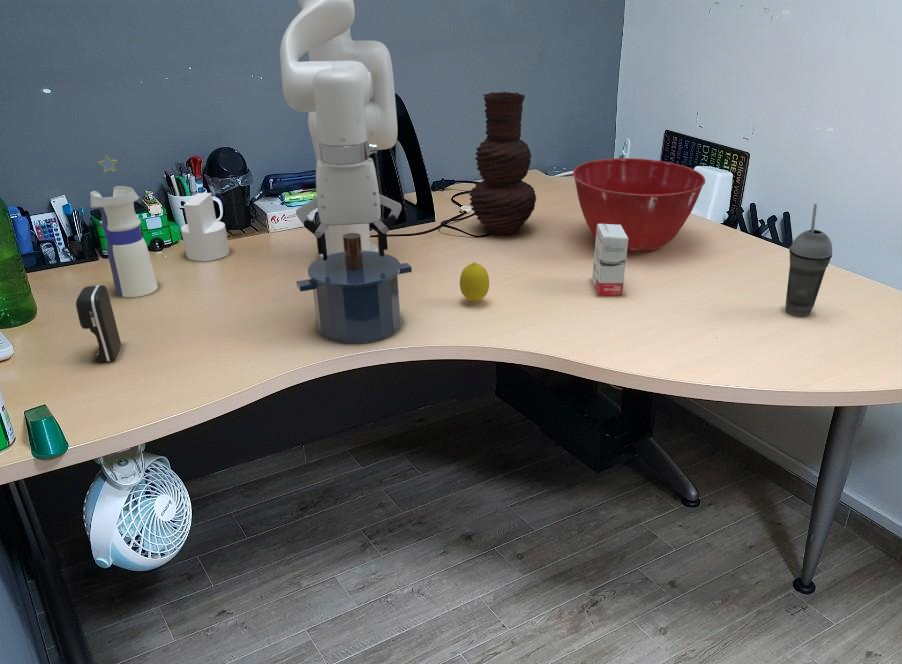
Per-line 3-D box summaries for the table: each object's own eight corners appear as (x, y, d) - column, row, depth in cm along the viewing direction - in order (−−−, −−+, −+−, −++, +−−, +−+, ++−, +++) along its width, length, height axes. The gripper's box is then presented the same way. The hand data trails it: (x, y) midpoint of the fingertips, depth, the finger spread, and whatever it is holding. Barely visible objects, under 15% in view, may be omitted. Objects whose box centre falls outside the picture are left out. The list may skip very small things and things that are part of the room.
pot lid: (297, 265, 141) (293, 228, 137) (382, 251, 147) (380, 216, 143) (323, 297, 129) (319, 258, 125) (414, 281, 135) (413, 243, 131)
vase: (456, 232, 186) (453, 96, 171) (493, 216, 197) (494, 86, 182) (511, 245, 179) (513, 104, 163) (547, 227, 190) (552, 93, 174)
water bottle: (104, 290, 156) (70, 160, 143) (146, 278, 162) (116, 151, 149) (124, 301, 151) (90, 168, 139) (166, 288, 157) (137, 159, 144)
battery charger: (98, 345, 136) (80, 282, 130) (122, 343, 136) (105, 281, 130) (89, 365, 130) (70, 299, 124) (114, 362, 130) (96, 297, 125)
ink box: (623, 296, 155) (629, 237, 149) (597, 296, 154) (602, 237, 148) (615, 279, 162) (621, 222, 156) (591, 279, 162) (595, 222, 156)
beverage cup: (798, 323, 144) (821, 214, 134) (768, 308, 150) (789, 203, 140) (827, 315, 147) (852, 208, 137) (797, 301, 153) (819, 197, 142)
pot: (293, 320, 145) (286, 265, 139) (397, 300, 152) (394, 248, 147) (316, 353, 133) (309, 295, 128) (427, 330, 141) (425, 274, 136)
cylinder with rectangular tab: (222, 261, 170) (212, 205, 164) (180, 260, 170) (168, 205, 164) (234, 246, 178) (225, 192, 171) (194, 246, 178) (184, 192, 172)
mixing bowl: (713, 236, 185) (724, 168, 177) (667, 275, 164) (676, 200, 156) (602, 215, 198) (607, 151, 190) (546, 249, 177) (549, 179, 169)
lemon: (486, 309, 149) (485, 269, 145) (457, 307, 150) (456, 266, 146) (491, 298, 154) (492, 258, 150) (463, 295, 155) (463, 256, 150)
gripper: (396, 145, 132) (402, 245, 141) (288, 149, 129) (301, 251, 138) (401, 156, 126) (406, 260, 135) (288, 161, 123) (301, 267, 131)
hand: (353, 255), depth 136 cm, fingers open, 9 cm apart
